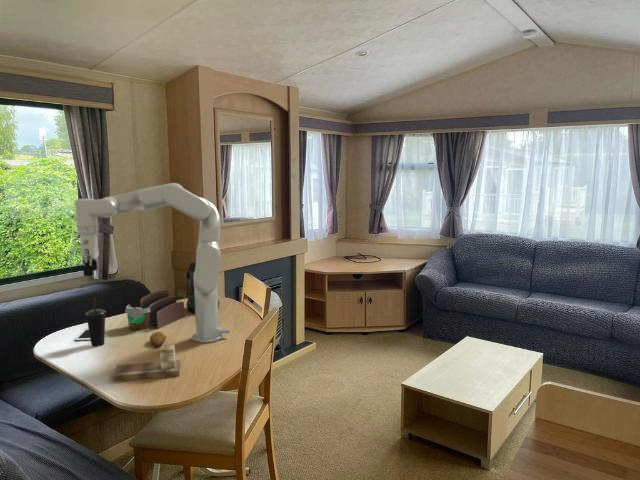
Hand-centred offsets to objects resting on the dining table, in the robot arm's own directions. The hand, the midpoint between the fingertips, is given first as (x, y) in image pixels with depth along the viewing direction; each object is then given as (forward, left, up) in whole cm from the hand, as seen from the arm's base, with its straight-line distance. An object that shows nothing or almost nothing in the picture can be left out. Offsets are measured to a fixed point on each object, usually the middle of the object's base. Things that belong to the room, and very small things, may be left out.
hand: (90, 273), depth 198 cm
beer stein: (-41, -45, -31) cm, 68 cm away
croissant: (-24, 0, -31) cm, 39 cm away
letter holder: (-24, -28, -31) cm, 49 cm away
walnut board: (-23, +31, -31) cm, 49 cm away
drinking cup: (0, -3, -31) cm, 31 cm away
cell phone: (+6, -16, -31) cm, 36 cm away
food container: (-13, -20, -31) cm, 39 cm away
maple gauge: (-30, +31, -29) cm, 52 cm away
